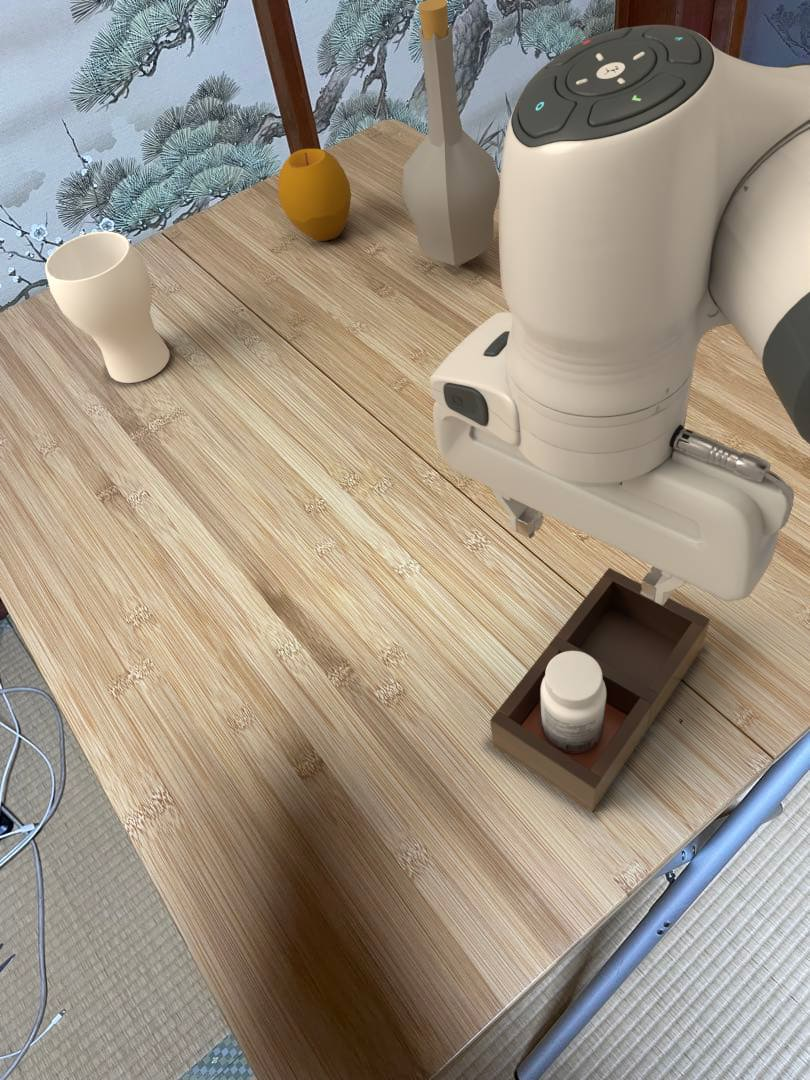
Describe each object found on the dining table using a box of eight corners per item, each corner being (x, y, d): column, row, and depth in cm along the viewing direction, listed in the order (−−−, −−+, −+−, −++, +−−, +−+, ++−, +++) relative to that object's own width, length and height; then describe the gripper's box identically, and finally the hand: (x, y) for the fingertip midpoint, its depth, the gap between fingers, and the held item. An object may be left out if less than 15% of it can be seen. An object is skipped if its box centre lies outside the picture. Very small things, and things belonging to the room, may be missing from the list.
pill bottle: (559, 688, 67) (560, 634, 61) (613, 717, 65) (620, 663, 59) (529, 735, 65) (527, 684, 59) (584, 766, 63) (589, 717, 57)
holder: (606, 598, 73) (609, 567, 70) (701, 648, 69) (710, 618, 65) (492, 745, 66) (489, 720, 63) (591, 812, 62) (594, 789, 58)
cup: (106, 403, 99) (47, 297, 87) (90, 354, 105) (33, 249, 94) (190, 371, 101) (143, 262, 89) (170, 324, 107) (123, 217, 95)
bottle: (401, 286, 105) (359, 28, 82) (433, 236, 111) (402, -19, 88) (485, 297, 102) (467, 30, 78) (514, 245, 108) (504, -19, 84)
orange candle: (275, 239, 116) (252, 157, 107) (328, 207, 119) (310, 125, 110) (319, 263, 111) (298, 180, 102) (373, 229, 114) (357, 145, 105)
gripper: (831, 433, 38) (772, 599, 49) (472, 305, 48) (488, 466, 59) (770, 524, 36) (722, 678, 47) (404, 369, 46) (434, 526, 56)
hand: (589, 558), depth 53 cm, fingers open, 8 cm apart
